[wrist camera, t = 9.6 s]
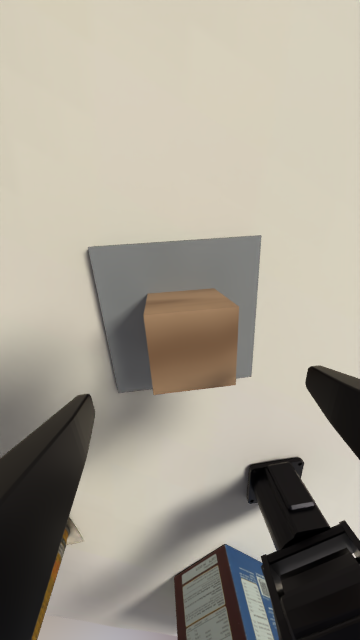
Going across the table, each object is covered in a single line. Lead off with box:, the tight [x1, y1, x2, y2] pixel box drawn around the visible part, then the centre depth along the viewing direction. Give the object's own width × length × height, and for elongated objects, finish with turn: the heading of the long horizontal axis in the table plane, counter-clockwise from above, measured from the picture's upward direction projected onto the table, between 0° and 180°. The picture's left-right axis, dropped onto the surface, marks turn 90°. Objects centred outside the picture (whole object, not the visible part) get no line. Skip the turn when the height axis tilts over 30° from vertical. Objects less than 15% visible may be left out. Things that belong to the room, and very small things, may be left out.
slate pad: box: [88, 235, 261, 393], centre depth 16 cm, size 12×12×1 cm
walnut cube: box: [144, 288, 239, 395], centre depth 14 cm, size 5×5×5 cm
